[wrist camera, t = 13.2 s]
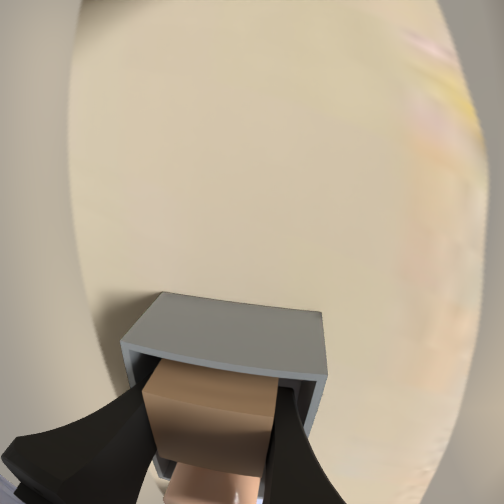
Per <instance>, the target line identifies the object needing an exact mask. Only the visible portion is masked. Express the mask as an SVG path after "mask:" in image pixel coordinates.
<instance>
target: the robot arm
mask: <svg viewBox="0 0 504 504" xmlns="http://www.w3.org/2000/svg"><path fill="white" fill-rule="evenodd" d="M154 370H155V369H154ZM154 370H153V371H152V372H151V373H149V374H148V375H147V376H146V377H144V378H143V379H142V380H141V381H139V382H138V383H137V384H136V385H134V386H133V387H132V388H130V389H129V390H128V391H126V392H125V393H124V394H122V395H121V396H119V397H118V398H117V399H115V400H114V401H112V402H111V403H109V404H107V405H106V406H104V407H103V408H101V409H99V410H98V411H96V412H94V413H92V414H90V415H88V416H86V417H85V418H82V419H80V420H77V421H75V422H72V423H70V424H68V425H65V426H62V427H59V428H56V429H53V430H50V431H46V432H42V433H37V434H32V435H26V436H20V437H16V438H15V439H14V441H13V442H12V443H11V444H10V445H9V447H8V448H7V449H6V451H5V452H4V453H3V454H2V456H1V459H2V461H3V463H4V464H5V465H6V466H7V467H8V469H9V470H10V471H11V472H12V473H13V474H14V475H15V476H16V477H17V478H18V479H19V481H20V482H21V483H20V484H19V486H18V487H15V486H14V485H13V484H12V483H10V482H9V481H8V480H6V479H5V478H4V477H3V476H2V475H0V504H136V502H137V498H138V495H139V492H140V489H141V486H142V483H143V481H144V477H145V475H146V472H147V470H148V467H149V465H150V463H151V461H152V459H153V457H154V455H155V453H156V451H157V446H156V443H155V440H154V436H153V433H152V429H151V426H150V422H149V418H148V414H147V411H146V407H145V403H144V398H143V394H142V390H143V388H144V387H145V385H146V383H147V382H148V380H149V379H150V377H151V375H152V374H153V372H154ZM256 504H346V503H345V501H344V500H343V499H342V498H341V496H340V495H339V493H338V492H337V491H336V489H335V488H334V487H333V485H332V484H331V482H330V481H329V479H328V478H327V476H326V474H325V473H324V471H323V469H322V468H321V466H320V464H319V462H318V460H317V458H316V456H315V454H314V452H313V450H312V448H311V445H310V443H309V441H308V438H307V436H306V433H305V431H304V428H303V425H302V422H301V419H300V416H299V412H298V409H297V405H296V400H295V394H294V389H293V388H290V387H281V386H278V388H277V397H276V405H275V413H274V420H273V425H272V430H271V436H270V441H269V446H268V451H267V456H266V471H265V489H264V497H263V499H258V498H257V502H256Z"/></svg>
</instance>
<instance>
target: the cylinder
mask: <svg viewBox="0 0 504 504" xmlns="http://www.w3.org/2000/svg"><path fill="white" fill-rule="evenodd" d="M259 484H260V478H259V477H251V476H244V475H238V474H232V473H226V472H221V471H215V470H210V469H206V468H201V467H197V466H192V465H188V464H184V463H180V462H177V464H176V467H175V469H174V472H173V474H172V477H171V479H170V482H169V485H168V487H167V490H166V492H165V495H164V497H163V501H164V503H165V504H256V502H257V496H258V490H259Z"/></svg>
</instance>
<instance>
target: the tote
mask: <svg viewBox="0 0 504 504" xmlns="http://www.w3.org/2000/svg"><path fill="white" fill-rule="evenodd" d="M120 344H121V349H122V354H123V359H124V363H125V368H126V372H127V376H128V380H129V384H130V388H132V387H133V386H134V385H136V384H137V383H138V382H139V381H141V380H142V379H143V378H144V377H146V376H147V375H148V374H149V373H151V372H152V371H153V370H154V369H156V367H157V366H158V364H159V362H160V361H161V359H162V358H166V359H170V360H175V361H180V362H184V363H189V364H194V365H200V366H205V367H210V368H216V369H222V370H228V371H234V372H241V373H248V374H255V375H263V376H271V377H279V380H278V386H281V387H290V388H293V389H294V394H295V400H296V405H297V409H298V412H299V416H300V419H301V422H302V425H303V428H304V431H305V433H306V436H307V438H308V436H309V434H310V431H311V428H312V425H313V422H314V419H315V416H316V413H317V410H318V406H319V403H320V400H321V397H322V393H323V390H324V387H325V383H326V380H327V377H328V370H327V359H326V349H325V339H324V330H323V321H322V312H313V311H304V310H294V309H285V308H276V307H268V306H259V305H251V304H243V303H236V302H228V301H221V300H214V299H207V298H200V297H193V296H187V295H180V294H174V293H168V292H162V293H161V294H160V295H159V297H158V298H157V299H156V300H155V301H154V302H153V303H152V304H151V306H150V307H149V308H148V309H147V310H146V311H145V312H144V313H143V315H142V316H141V317H140V318H139V319H138V320H137V321H136V323H135V324H134V325H133V326H132V327H131V328H130V329H129V331H128V332H127V333H126V334H125V335H124V336H123V338H122V339H121V340H120ZM152 460H153V463H154V466H155V468H156V471H157V474H158V476H159V478H162V479H166V480H169V481H170V479H171V477H172V474H173V472H174V469H175V467H176V464H177V462H176V461H172V460H169V459H165V458H162V457H160V456H159V453H158V450H157V451H156V453H155V455H154V457H153V459H152ZM265 471H266V460H265V465H264V470H263V474H262V478H260V484H259V490H258V496H257V498H258V499H263V497H264V489H265Z"/></svg>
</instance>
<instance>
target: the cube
mask: <svg viewBox="0 0 504 504" xmlns="http://www.w3.org/2000/svg"><path fill="white" fill-rule="evenodd" d="M278 380H279V377H271V376H263V375H255V374H248V373H241V372H234V371H228V370H222V369H216V368H210V367H205V366H200V365H194V364H189V363H184V362H180V361H175V360H170V359H166V358H162V359H161V361H160V362H159V364H158V366H157V367H156V369H155V370H154V372H153V374H152V375H151V377H150V379H149V380H148V382H147V383H146V385H145V387H144V388H143V390H142V394H143V398H144V403H145V407H146V411H147V414H148V418H149V422H150V426H151V429H152V433H153V436H154V440H155V443H156V446H157V450H158V453H159V456H160V457H162V458H165V459H169V460H172V461H176V462H180V463H184V464H188V465H192V466H197V467H201V468H206V469H210V470H215V471H221V472H226V473H232V474H238V475H244V476H251V477H259V478H262V474H263V470H264V465H265V460H266V456H267V451H268V446H269V441H270V436H271V430H272V425H273V420H274V413H275V405H276V397H277V388H278Z"/></svg>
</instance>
